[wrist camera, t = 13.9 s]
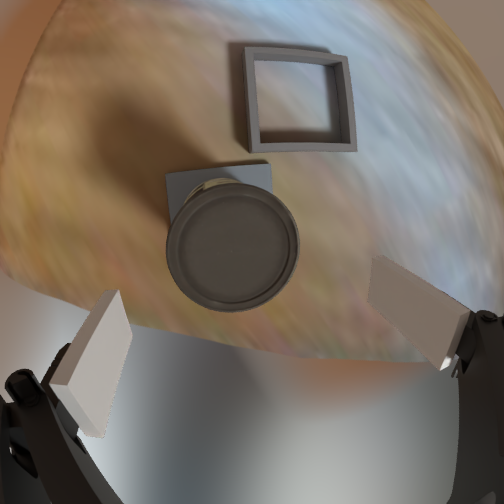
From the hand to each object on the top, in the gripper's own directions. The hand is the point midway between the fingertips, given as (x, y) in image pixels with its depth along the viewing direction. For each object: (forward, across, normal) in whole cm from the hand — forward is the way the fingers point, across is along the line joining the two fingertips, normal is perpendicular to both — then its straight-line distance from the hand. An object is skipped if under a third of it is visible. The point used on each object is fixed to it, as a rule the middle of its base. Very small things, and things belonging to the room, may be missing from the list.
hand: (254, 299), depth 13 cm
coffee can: (+22, 0, 0) cm, 22 cm away
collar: (+23, +11, +14) cm, 29 cm away
